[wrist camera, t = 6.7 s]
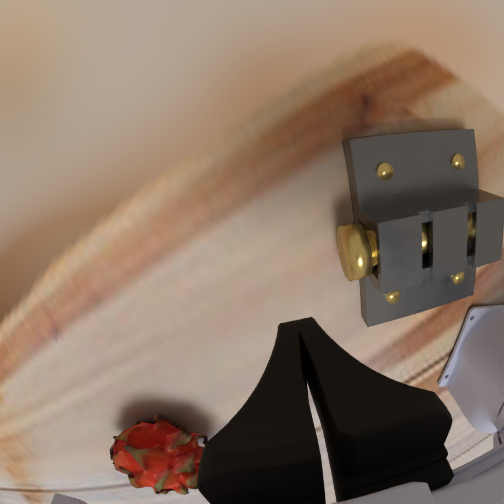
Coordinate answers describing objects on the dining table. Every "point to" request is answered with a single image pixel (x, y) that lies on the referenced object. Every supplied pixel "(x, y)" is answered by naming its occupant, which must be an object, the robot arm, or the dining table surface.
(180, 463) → the dragon fruit
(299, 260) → the dining table surface
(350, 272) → the pin
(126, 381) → the dining table surface
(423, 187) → the hinge leaves
